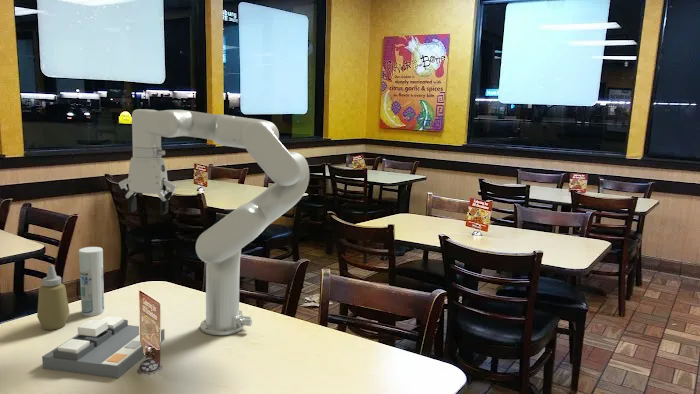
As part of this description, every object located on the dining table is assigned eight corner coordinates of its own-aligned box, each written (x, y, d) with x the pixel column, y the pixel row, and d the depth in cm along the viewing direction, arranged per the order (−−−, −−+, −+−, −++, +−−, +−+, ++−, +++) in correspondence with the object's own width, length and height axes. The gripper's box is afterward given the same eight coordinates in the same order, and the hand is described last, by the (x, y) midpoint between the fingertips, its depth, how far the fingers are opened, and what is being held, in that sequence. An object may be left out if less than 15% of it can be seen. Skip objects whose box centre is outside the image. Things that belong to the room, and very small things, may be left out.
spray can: (77, 312, 163) (74, 249, 160) (97, 306, 169) (95, 245, 165) (87, 318, 160) (85, 253, 156) (108, 312, 165) (106, 249, 161)
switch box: (164, 339, 148) (164, 323, 147) (118, 378, 127) (117, 360, 126) (98, 331, 151) (98, 316, 150) (42, 368, 130) (41, 350, 129)
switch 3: (124, 325, 148) (123, 318, 148) (113, 332, 143) (113, 325, 143) (107, 323, 149) (107, 316, 149) (96, 330, 144) (96, 323, 144)
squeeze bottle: (56, 333, 148) (53, 271, 145) (31, 330, 150) (27, 268, 147) (76, 322, 156) (73, 263, 153) (52, 319, 158) (49, 260, 155)
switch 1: (89, 348, 134) (89, 340, 133) (76, 357, 129) (76, 349, 128) (71, 346, 134) (71, 338, 134) (57, 355, 129) (57, 347, 129)
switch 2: (107, 328, 140) (107, 321, 140) (95, 336, 136) (95, 329, 135) (90, 326, 141) (90, 319, 141) (77, 334, 136) (77, 327, 136)
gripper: (181, 154, 153) (182, 212, 156) (126, 150, 156) (127, 208, 159) (169, 156, 146) (169, 217, 149) (111, 152, 148) (112, 212, 151)
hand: (148, 212), depth 154 cm, fingers open, 9 cm apart
